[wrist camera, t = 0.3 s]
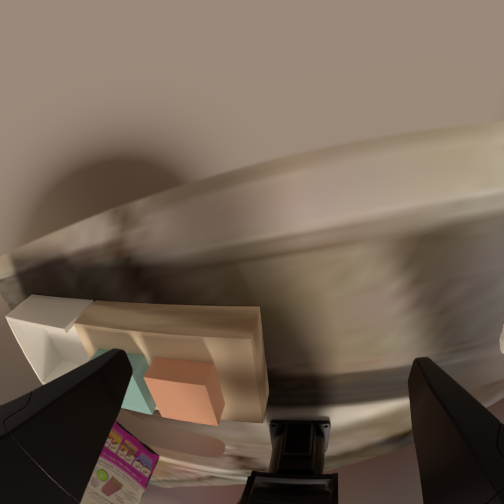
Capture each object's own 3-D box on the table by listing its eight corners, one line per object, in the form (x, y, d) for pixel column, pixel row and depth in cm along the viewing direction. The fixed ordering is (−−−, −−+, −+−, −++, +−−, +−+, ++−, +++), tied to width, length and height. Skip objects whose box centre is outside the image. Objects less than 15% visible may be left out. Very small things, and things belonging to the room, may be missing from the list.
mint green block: (161, 395, 25) (152, 414, 23) (117, 386, 26) (106, 403, 24) (145, 355, 23) (132, 375, 21) (98, 348, 24) (85, 365, 22)
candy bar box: (94, 416, 38) (46, 493, 23) (111, 414, 36) (60, 500, 22) (142, 457, 41) (106, 532, 26) (161, 457, 39) (125, 539, 25)
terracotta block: (225, 404, 24) (218, 425, 22) (171, 397, 25) (162, 416, 23) (214, 362, 22) (205, 385, 20) (155, 356, 23) (143, 377, 21)
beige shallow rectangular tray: (269, 391, 28) (262, 423, 24) (127, 374, 31) (111, 399, 28) (259, 306, 24) (250, 338, 20) (96, 300, 27) (73, 323, 24)
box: (124, 374, 31) (104, 404, 27) (62, 359, 33) (42, 384, 29) (93, 300, 27) (64, 328, 23) (31, 294, 30) (5, 316, 25)
